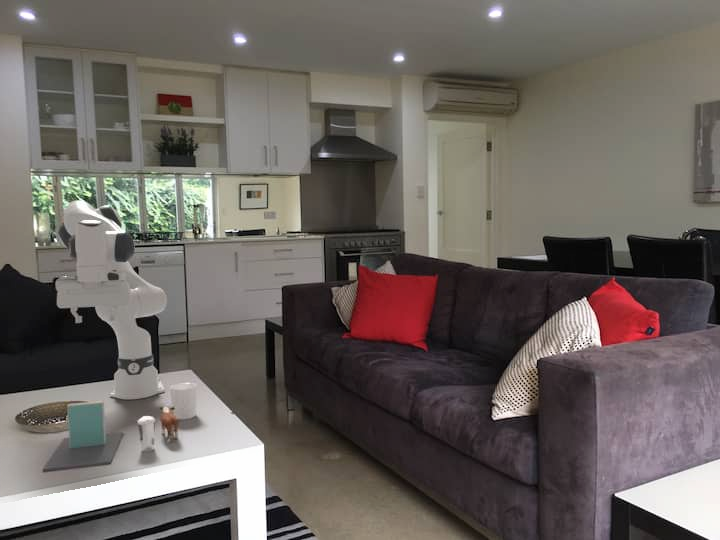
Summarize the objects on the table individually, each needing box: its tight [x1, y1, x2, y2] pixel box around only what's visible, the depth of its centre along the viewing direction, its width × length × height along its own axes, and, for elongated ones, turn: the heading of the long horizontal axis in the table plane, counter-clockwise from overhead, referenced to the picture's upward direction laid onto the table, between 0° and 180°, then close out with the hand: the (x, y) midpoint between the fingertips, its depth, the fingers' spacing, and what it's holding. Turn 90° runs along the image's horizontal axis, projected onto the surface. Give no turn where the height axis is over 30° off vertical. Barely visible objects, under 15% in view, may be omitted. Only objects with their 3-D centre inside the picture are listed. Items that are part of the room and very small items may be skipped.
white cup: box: [170, 382, 197, 421], centre depth 186 cm, size 8×8×10 cm
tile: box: [67, 400, 107, 448], centre depth 161 cm, size 2×9×12 cm, turn 104°
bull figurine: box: [159, 403, 180, 444], centre depth 168 cm, size 4×13×8 cm, turn 25°
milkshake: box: [134, 415, 156, 453], centre depth 158 cm, size 4×5×10 cm
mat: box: [42, 431, 124, 472], centre depth 159 cm, size 22×16×1 cm
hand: (96, 321), depth 172 cm, fingers open, 8 cm apart
